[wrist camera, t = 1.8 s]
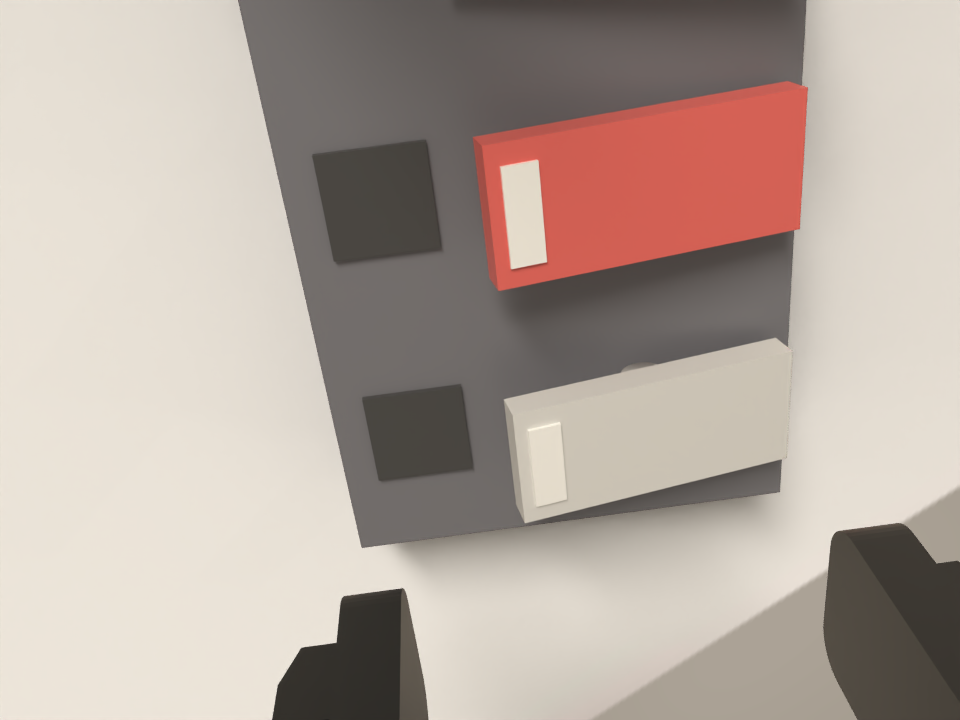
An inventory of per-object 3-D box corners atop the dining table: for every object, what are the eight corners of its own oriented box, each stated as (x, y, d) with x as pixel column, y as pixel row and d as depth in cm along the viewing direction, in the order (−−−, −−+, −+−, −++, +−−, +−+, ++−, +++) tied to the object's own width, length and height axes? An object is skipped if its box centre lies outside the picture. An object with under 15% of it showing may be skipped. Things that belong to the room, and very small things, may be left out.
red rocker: (774, 76, 26) (810, 87, 24) (769, 211, 27) (801, 230, 26) (466, 131, 24) (482, 147, 23) (483, 268, 26) (499, 292, 24)
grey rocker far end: (764, 328, 29) (794, 352, 28) (760, 431, 31) (788, 459, 30) (497, 388, 28) (513, 417, 26) (510, 492, 30) (526, 525, 28)
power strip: (766, -360, 24) (831, -404, 20) (743, 431, 36) (781, 495, 32) (202, -288, 24) (164, -318, 20) (366, 481, 36) (361, 551, 32)
